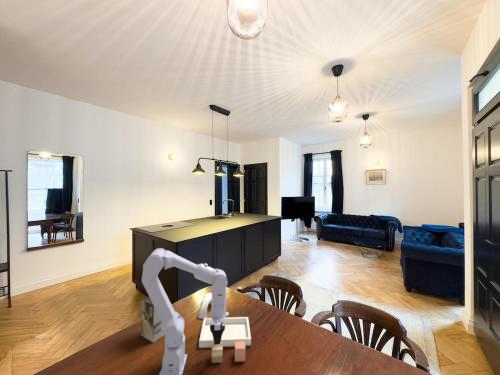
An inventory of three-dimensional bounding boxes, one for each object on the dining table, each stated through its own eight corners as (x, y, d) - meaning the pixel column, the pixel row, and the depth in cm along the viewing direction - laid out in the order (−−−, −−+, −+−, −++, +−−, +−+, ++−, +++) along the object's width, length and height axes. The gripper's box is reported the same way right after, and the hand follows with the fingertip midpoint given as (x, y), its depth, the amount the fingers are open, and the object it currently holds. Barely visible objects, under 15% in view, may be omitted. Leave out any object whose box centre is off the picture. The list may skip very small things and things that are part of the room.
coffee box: (165, 334, 98) (166, 299, 98) (152, 343, 92) (154, 305, 92) (152, 327, 102) (153, 294, 103) (139, 335, 97) (141, 299, 97)
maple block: (222, 362, 83) (222, 349, 83) (211, 362, 83) (212, 349, 83) (222, 354, 87) (222, 342, 87) (212, 354, 87) (212, 342, 87)
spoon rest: (208, 296, 135) (209, 284, 135) (226, 298, 132) (227, 286, 133) (192, 318, 111) (192, 304, 111) (213, 321, 109) (214, 307, 109)
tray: (250, 346, 92) (251, 338, 92) (198, 347, 90) (199, 340, 90) (247, 322, 108) (248, 317, 108) (203, 324, 106) (204, 318, 106)
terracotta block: (245, 361, 84) (245, 348, 84) (234, 361, 84) (235, 348, 84) (244, 353, 88) (244, 341, 88) (234, 353, 88) (235, 341, 88)
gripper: (228, 312, 78) (227, 350, 78) (229, 293, 93) (228, 325, 93) (209, 313, 78) (208, 350, 78) (212, 293, 92) (211, 325, 92)
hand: (217, 336), depth 85 cm, fingers open, 7 cm apart
